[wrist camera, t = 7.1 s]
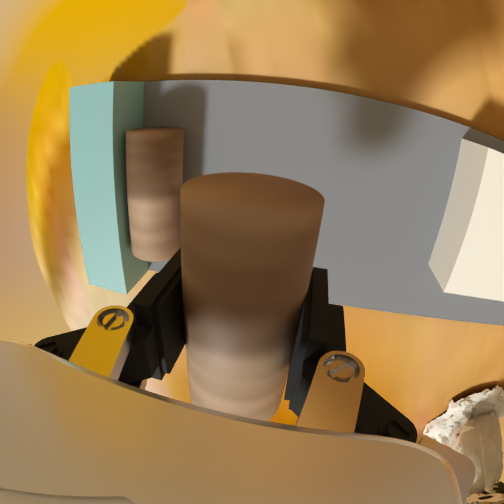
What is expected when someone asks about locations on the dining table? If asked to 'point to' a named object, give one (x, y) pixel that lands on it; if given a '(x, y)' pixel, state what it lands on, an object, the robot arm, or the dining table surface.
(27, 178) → the dining table surface
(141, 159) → the roller
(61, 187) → the dining table surface
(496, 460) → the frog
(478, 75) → the dining table surface
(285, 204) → the roller
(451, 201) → the slab
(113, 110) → the stop block
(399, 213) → the mat
